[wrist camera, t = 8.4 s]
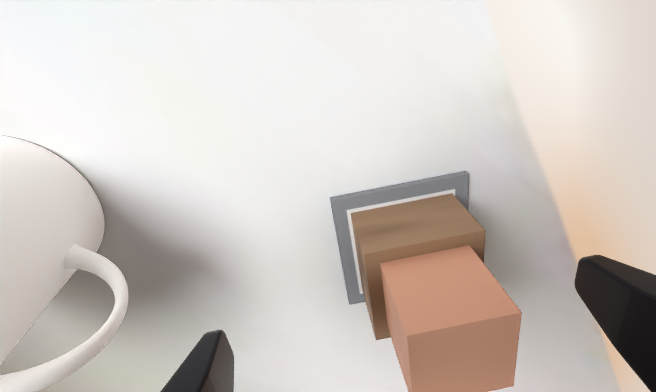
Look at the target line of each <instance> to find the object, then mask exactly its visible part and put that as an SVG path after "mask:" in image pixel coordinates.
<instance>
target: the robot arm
mask: <svg viewBox="0 0 656 392" xmlns="http://www.w3.org/2000/svg"><path fill="white" fill-rule="evenodd" d="M575 288H576V291H577V293H578V294H579V296H580V297H581V299H582V300H583V302H584V303H585V305H586V306H587V307H588V309H589V310H590V312H591V313H592V315H593V316H594V318H595V319H596V321H597V322H598V324H599V325H600V327H601V328H602V330H603V331H604V333H605V334H606V336H607V337H608V338H609V340H610V341H611V343H612V344H613V345H614V347H615V348H616V349H617V351H618V352H619V353H620V354H621V356H622V357H623V358H624V359H625V361H626V362H627V363H628V364H629V366H630V367H631V368H632V369H633V370H634V372H635V373H636V374H637V375H638V376H639V378H640V379H641V380H642V381H643V383H644V384H645V385H646V386H647V387H648V389H649V390H650V391H651V392H656V275H653V274H651V273H648V272H645V271H643V270H640V269H637V268H634V267H631V266H629V265H626V264H623V263H620V262H618V261H615V260H612V259H609V258H606V257H604V256H601V255H593V256H588V257H583V258H581V259H580V260H579V263H578V268H577V273H576V278H575ZM233 389H234V355H233V351H232V349H231V346H230V344H229V342H228V339H227V337H226V334H225V333H224V331H223V330H216V331H211V332H207V333H206V334H204V335H203V337H202V338H201V339H200V341H199V342H198V343H197V345H196V346H195V347H194V349H193V350H192V351H191V352H190V354H189V355H188V356H187V358H186V359H185V360H184V362H183V363H182V364H181V366H180V367H179V368H178V370H177V371H176V372H175V373H174V375H173V376H172V377H171V379H170V380H169V381H168V383H167V384H166V385H165V387H164V388H163V389H162V391H161V392H233Z"/></svg>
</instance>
